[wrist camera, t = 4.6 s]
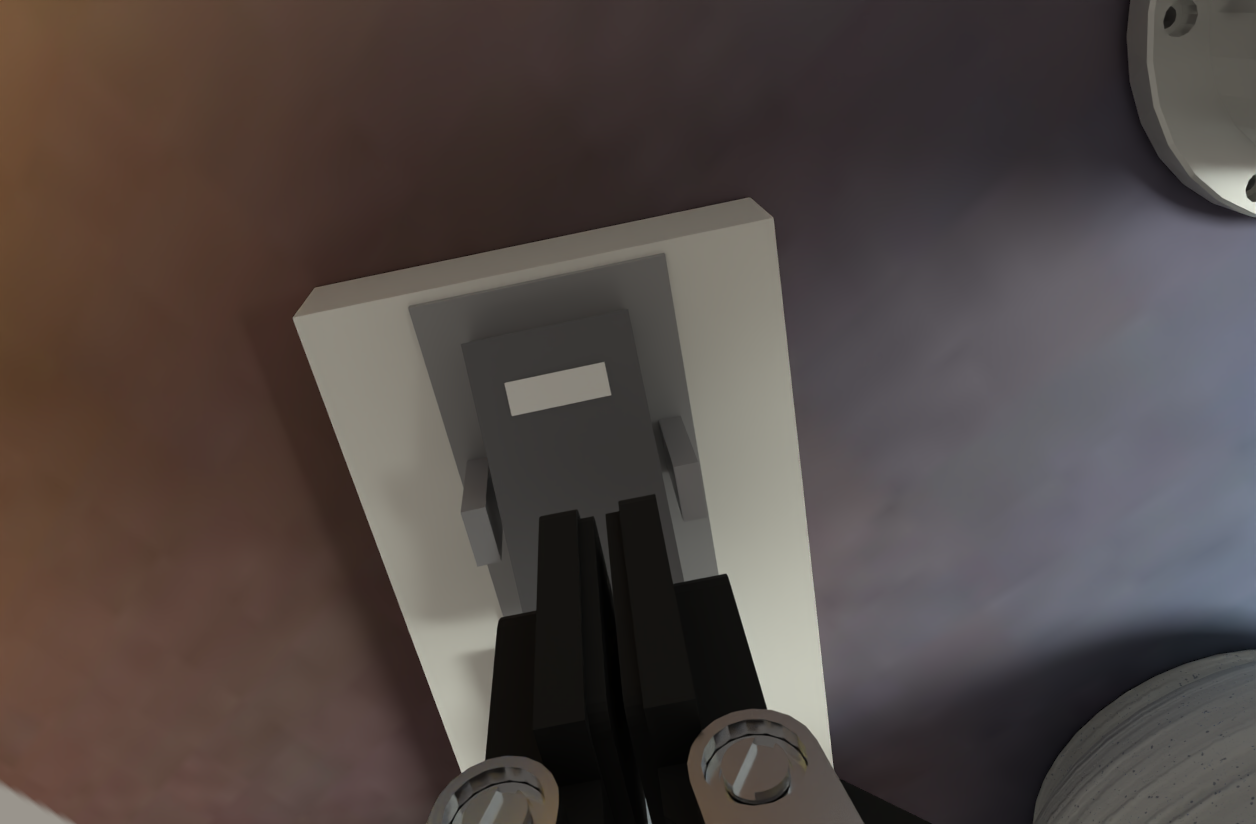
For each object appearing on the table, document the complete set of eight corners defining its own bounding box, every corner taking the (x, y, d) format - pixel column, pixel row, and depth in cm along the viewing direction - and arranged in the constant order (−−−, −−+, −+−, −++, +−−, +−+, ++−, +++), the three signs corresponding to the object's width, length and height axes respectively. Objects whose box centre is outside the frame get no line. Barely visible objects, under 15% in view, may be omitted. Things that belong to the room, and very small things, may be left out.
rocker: (625, 309, 22) (628, 308, 20) (695, 647, 23) (702, 669, 22) (468, 342, 22) (460, 344, 20) (546, 679, 23) (543, 704, 21)
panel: (749, 197, 24) (806, 245, 19) (832, 887, 36) (879, 1021, 32) (314, 287, 24) (261, 360, 19) (549, 950, 36) (552, 1095, 31)
